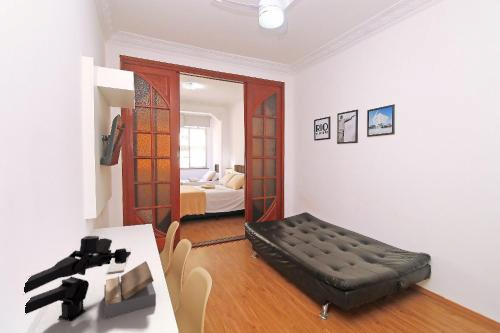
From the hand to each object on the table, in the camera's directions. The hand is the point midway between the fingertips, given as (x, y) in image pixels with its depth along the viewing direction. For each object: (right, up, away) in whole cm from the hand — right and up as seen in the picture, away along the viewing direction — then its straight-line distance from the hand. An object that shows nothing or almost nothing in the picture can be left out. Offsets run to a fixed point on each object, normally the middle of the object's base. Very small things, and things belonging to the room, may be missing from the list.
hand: (123, 253), depth 121 cm
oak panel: (+4, -11, -16) cm, 20 cm away
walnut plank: (+12, -8, -11) cm, 19 cm away
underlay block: (+9, -16, -13) cm, 23 cm away
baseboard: (-16, -15, +26) cm, 34 cm away
